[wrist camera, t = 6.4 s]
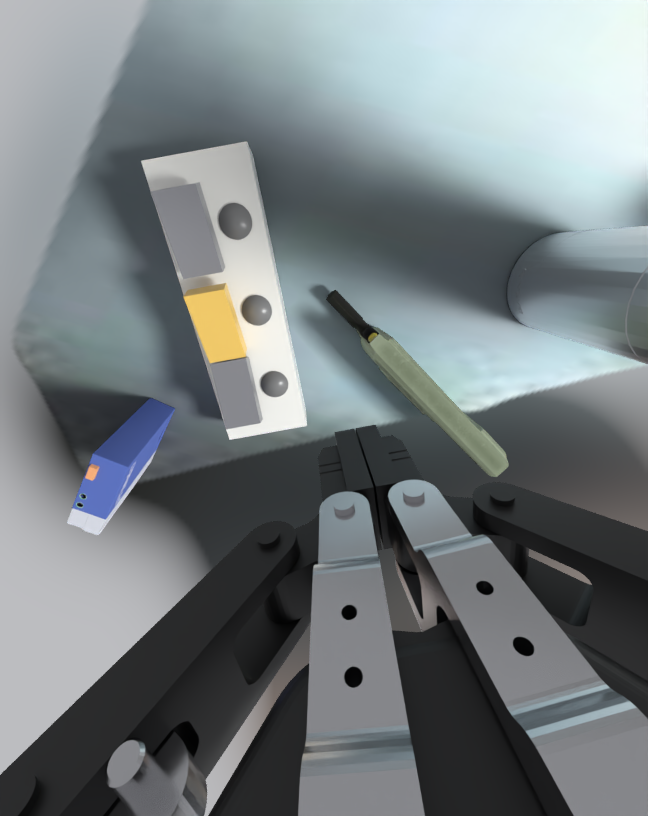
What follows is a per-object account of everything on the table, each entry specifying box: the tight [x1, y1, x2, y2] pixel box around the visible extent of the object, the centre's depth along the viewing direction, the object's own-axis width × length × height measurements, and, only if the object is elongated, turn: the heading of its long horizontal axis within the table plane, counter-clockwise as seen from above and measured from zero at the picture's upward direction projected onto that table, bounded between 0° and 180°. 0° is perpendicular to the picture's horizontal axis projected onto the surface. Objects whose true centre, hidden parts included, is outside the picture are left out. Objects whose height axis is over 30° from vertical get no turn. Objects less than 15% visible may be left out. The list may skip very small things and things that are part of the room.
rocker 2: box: [210, 357, 263, 429], centre depth 32 cm, size 3×6×2 cm, turn 9°
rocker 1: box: [184, 283, 247, 363], centre depth 30 cm, size 3×6×2 cm, turn 10°
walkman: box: [67, 398, 175, 535], centre depth 34 cm, size 8×3×12 cm, turn 150°
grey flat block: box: [150, 182, 225, 279], centre depth 27 cm, size 3×6×2 cm, turn 9°
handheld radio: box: [326, 290, 508, 477], centre depth 36 cm, size 7×3×25 cm
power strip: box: [141, 141, 307, 440], centre depth 33 cm, size 8×24×4 cm, turn 9°
